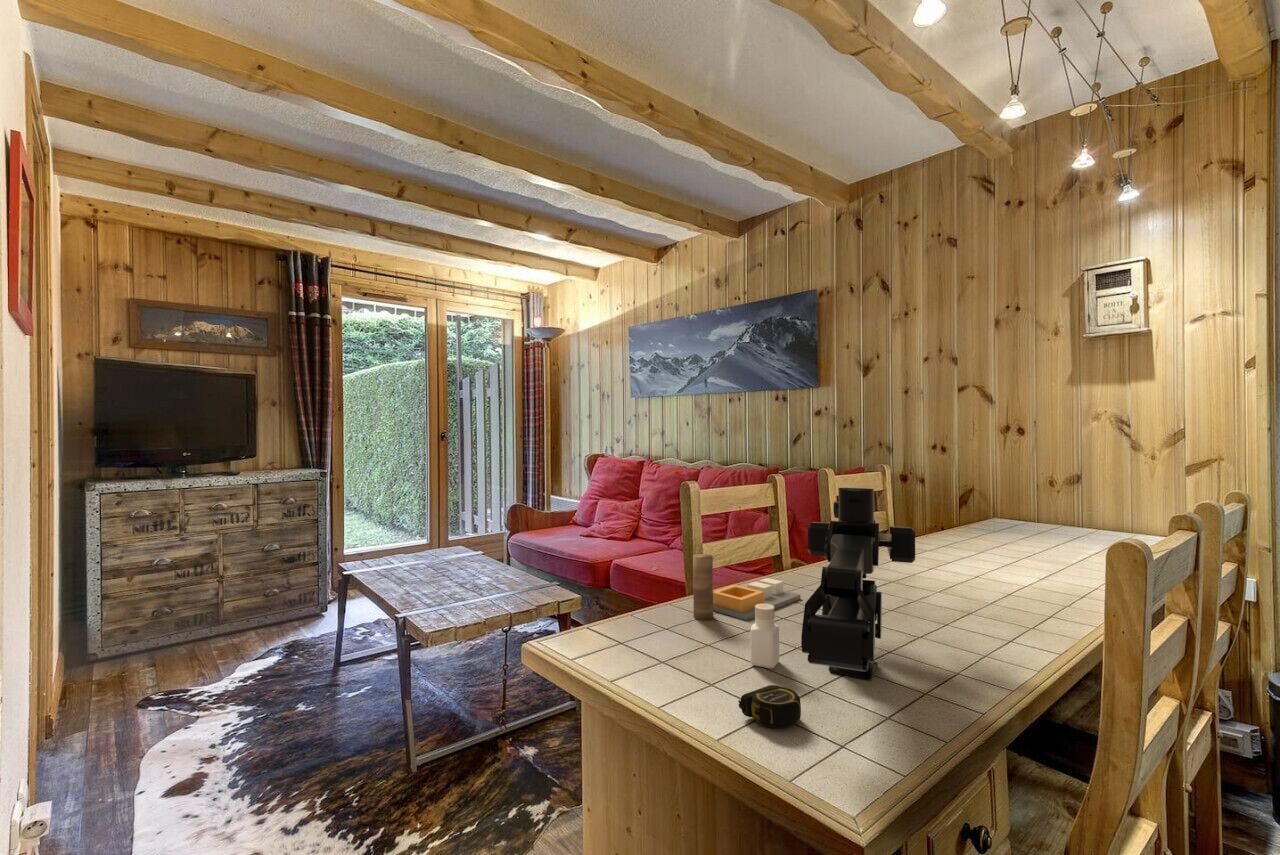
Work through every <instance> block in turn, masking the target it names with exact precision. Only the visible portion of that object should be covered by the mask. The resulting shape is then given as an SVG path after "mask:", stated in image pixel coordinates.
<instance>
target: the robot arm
mask: <svg viewBox="0 0 1280 855" xmlns="http://www.w3.org/2000/svg"><path fill="white" fill-rule="evenodd" d="M874 492H875V490H874V488H868V487H867V488H864V487H838V493H837V494H838V501H837V500H835V501H834V502H833V517H834V518H835V519H838V520H830V522H820V521H811V522H810V523H809V524H808V525H807V552H808V554H809V555H811V556H816V557H817V556H819V557H826V558H827V562H828V565H827V566H822V568H821V576H820V584H819V586H818V587H817V588H816V589H815V591H814V592H813V593H812V595H811V596H810V597H809V598H808V599H807V600H806V601H805V604H804V607H803V609H804V611H803V619H802V625H801V626H802V628H801V639H800V640H801V642H800V645H801V651H802V653H803V654H808V655H807V662H808V664H812V665H819V666H825V667H828V671H829V672H831V673H835V674H840V675H845V676H850V677H854V678H859V679H864V680H872V679H873V678H874V676H875V674H876V672H877V669H878V668H879V662H878V661H875V655H876V654H875V652H876V651H875V650H876V645H875V644H876V638H877V639H879V640H880V639H881V638H882V629H883V628H882V625H883V623H882V621H883V620H882V615H883V614H882V611H883V610H882V609H883V606H882V605H883V603H882V602H883V601H882V600H883V598H882V597H883V596H882V595H883V594H882V591H878V585H876V581H875V580H870V579H869V580H868V579H867V575H871V574H873V573H874V569H875V567H879V560H880V559H879V557H880V556H879V555H880V552H879V551H880V548H881V547H882V548H883V547H884V548H887V551H888V556H889V559H890V560H891V562H896V563H906V564H913V563H914V562H915V561H916V531H915V529H914V528H913V527H909V526H889V530H888V533H880V523H876V520H875V519H874V518H875V514H874V513H875V508H874V507H875V506H874V505H875V502H874V501H875V499H874V498H875V496H874V495H875V494H874ZM821 607H822V609H821ZM820 609H821V613H822V614H817V612H819V610H820ZM881 640H882V639H881Z"/></svg>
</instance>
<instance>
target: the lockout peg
mask: <svg viewBox="0 0 1280 855" xmlns="http://www.w3.org/2000/svg"><path fill="white" fill-rule="evenodd" d="M713 558H714V557H713V555H712V554H708V553H696V554H695V553H694V554H693V555H692V574H693V575H692V586H693V587H692V590H693V591H692V593H693V618H694V619H696V620H700V621H707V620H708V621H709V620H712V619H714V611H713V591H714V582H713V581H714V574H713V573H714V570H713V568H714V563H713V562H714V559H713Z"/></svg>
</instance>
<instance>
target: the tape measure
mask: <svg viewBox="0 0 1280 855" xmlns="http://www.w3.org/2000/svg"><path fill="white" fill-rule="evenodd" d="M801 703H802V702H801V698H800V696H799V694H798V692H796V691H795V690H794V689H791V688H789V687H788V688H787V687H783V686H780V685H775V684H772V685H771V684H769V685H767V686H764V687H761V688H758V689H755V690H753V691H749V692H746V693H744V694H743V695H741V698H740V699H738V708H739V709H741V712H742V714H743V715H744V716H746V717H748V718H752V719H754V721H756V722H757V723H758V724H760V725H762V726H764V727H768V728H773V729H783V728H790V727H792V726H794V725H796V724H797V723H798V722H799V721H800V720H801V716H802V713H801V712H802V707H801V706H802V705H801Z"/></svg>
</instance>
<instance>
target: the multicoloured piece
mask: <svg viewBox="0 0 1280 855" xmlns="http://www.w3.org/2000/svg"><path fill="white" fill-rule="evenodd" d="M799 600H801V593H796V592H793V591H787V590H784V581H782V580H779V579H773V578H769V577H765V578H763V579H759V580H758V582H757V581H753V582H751V583H748V584H747V586H742V585H737V584H732V585H728V586H726V587H722V588H719V589H717V590H713V612H716V613H720V614H724V615H726V616H730V617H733V618H736V619H741V620H744V621H749V620H752V619H755V605H757V604H770V605H773V606H774V610H776V609H780V608H781V607H784V606H786V605H788V604H789V605H790V604H791V603H794V602H797V601H799Z"/></svg>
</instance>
